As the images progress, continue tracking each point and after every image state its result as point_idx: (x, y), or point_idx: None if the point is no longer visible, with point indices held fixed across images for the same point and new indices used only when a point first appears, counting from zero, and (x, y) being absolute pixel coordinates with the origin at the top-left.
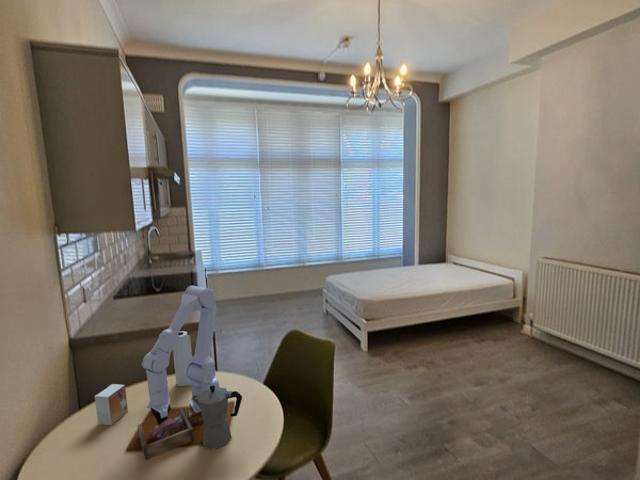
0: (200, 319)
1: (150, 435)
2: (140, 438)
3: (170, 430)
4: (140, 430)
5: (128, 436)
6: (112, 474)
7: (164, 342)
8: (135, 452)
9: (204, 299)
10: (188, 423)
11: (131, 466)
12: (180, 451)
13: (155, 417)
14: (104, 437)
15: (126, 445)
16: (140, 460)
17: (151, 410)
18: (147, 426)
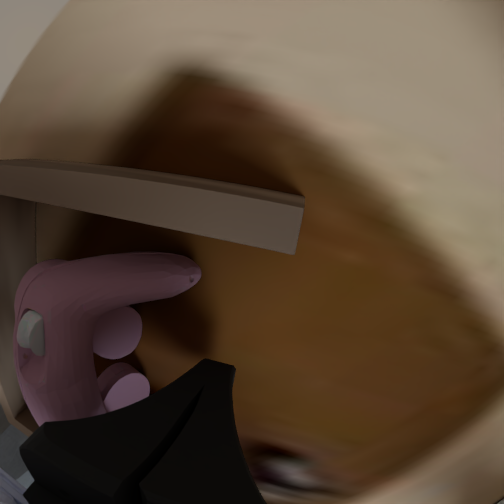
0: None
1: (92, 257)
2: (108, 171)
3: (102, 381)
4: (142, 197)
5: (381, 129)
6: (64, 6)
7: None
8: (119, 119)
9: None
10: None
11: (39, 88)
12: None
13: (98, 415)
14: (488, 23)
15: (258, 78)
16: (42, 137)
17: (87, 484)
18: (387, 303)
